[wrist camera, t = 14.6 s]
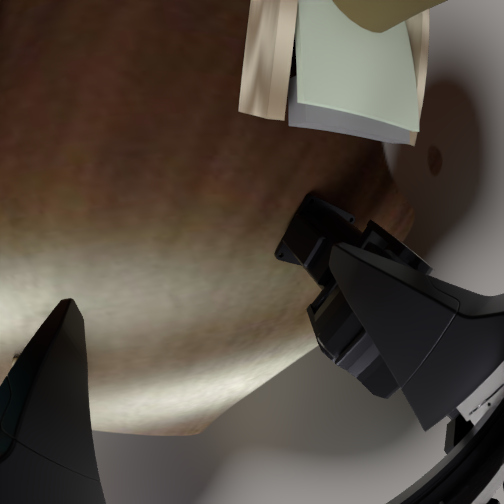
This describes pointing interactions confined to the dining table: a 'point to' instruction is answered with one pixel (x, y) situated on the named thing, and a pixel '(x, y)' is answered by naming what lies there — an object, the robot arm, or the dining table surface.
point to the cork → (382, 11)
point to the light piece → (352, 76)
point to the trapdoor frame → (280, 54)
